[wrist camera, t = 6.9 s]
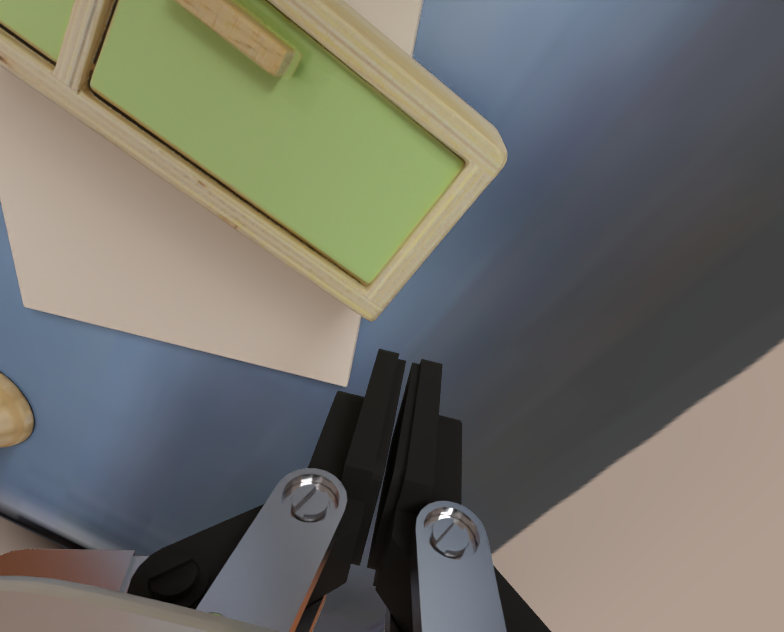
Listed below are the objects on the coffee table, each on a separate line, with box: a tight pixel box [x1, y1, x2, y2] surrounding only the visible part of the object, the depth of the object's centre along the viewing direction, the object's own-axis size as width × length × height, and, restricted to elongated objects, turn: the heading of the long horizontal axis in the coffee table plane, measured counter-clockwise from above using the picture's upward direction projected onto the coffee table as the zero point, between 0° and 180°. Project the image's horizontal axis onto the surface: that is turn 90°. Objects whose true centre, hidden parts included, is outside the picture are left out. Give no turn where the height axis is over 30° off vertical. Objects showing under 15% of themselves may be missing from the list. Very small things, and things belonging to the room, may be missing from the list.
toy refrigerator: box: [0, 0, 507, 321], centre depth 17 cm, size 8×7×21 cm
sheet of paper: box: [0, 0, 424, 387], centre depth 24 cm, size 20×20×1 cm
